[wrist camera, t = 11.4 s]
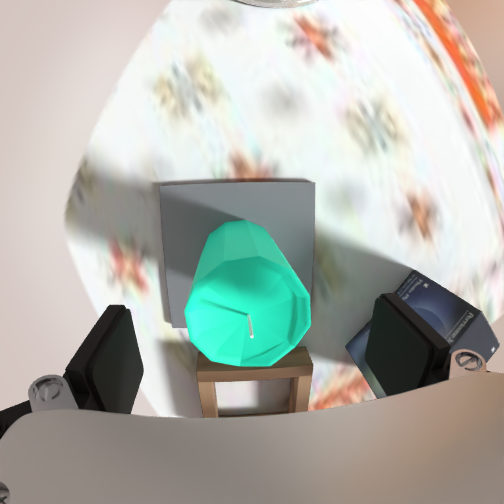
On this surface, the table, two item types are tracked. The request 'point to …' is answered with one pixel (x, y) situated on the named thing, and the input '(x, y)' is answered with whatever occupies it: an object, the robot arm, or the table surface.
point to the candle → (245, 298)
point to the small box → (434, 323)
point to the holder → (288, 366)
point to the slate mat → (226, 210)
